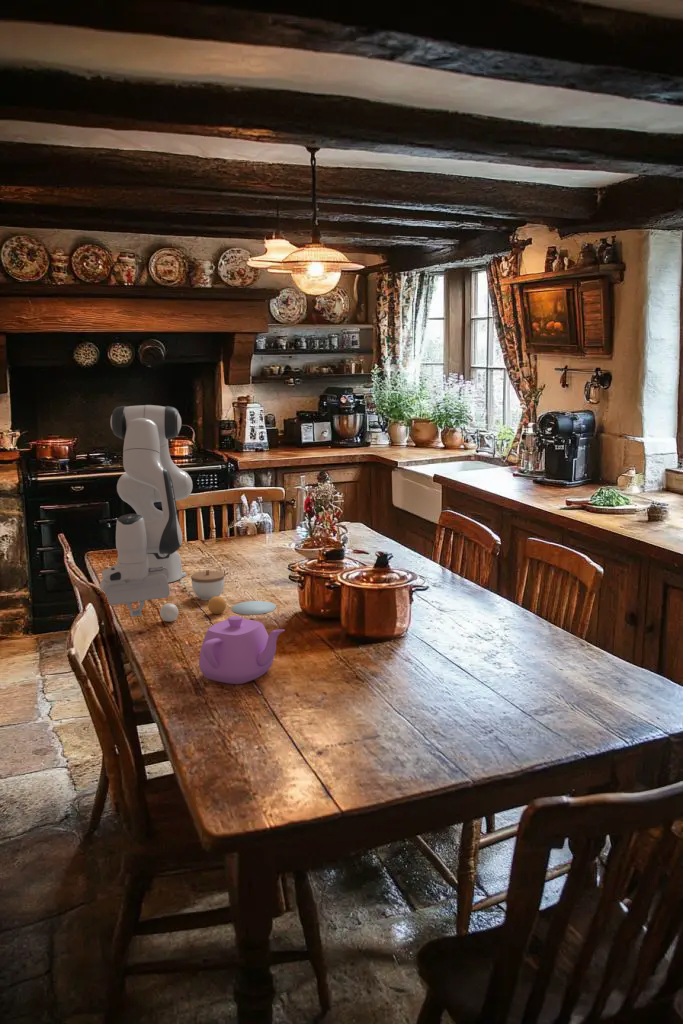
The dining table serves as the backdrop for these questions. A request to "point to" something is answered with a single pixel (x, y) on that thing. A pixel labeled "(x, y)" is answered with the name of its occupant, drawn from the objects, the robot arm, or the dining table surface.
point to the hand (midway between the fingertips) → (136, 615)
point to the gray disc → (253, 607)
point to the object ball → (217, 605)
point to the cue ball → (169, 612)
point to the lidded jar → (207, 584)
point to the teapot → (237, 650)
